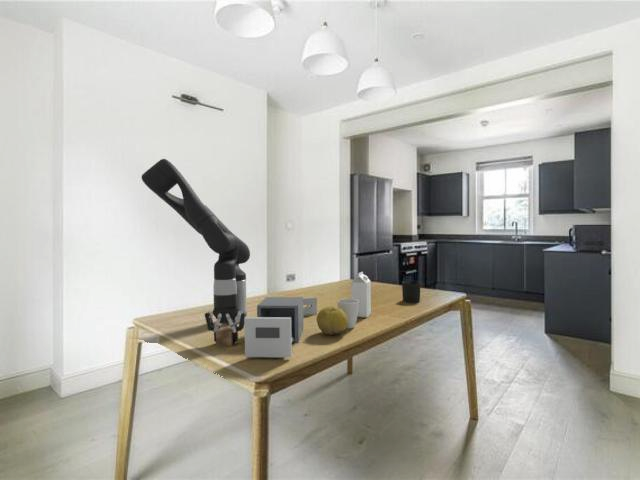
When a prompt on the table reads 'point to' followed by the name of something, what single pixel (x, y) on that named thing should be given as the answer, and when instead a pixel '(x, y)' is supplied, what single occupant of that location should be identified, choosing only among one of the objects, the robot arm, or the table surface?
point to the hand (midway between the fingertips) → (226, 342)
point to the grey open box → (284, 312)
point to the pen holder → (411, 291)
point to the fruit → (332, 320)
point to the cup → (349, 310)
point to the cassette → (312, 308)
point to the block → (224, 337)
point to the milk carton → (362, 294)
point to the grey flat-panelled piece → (268, 337)
